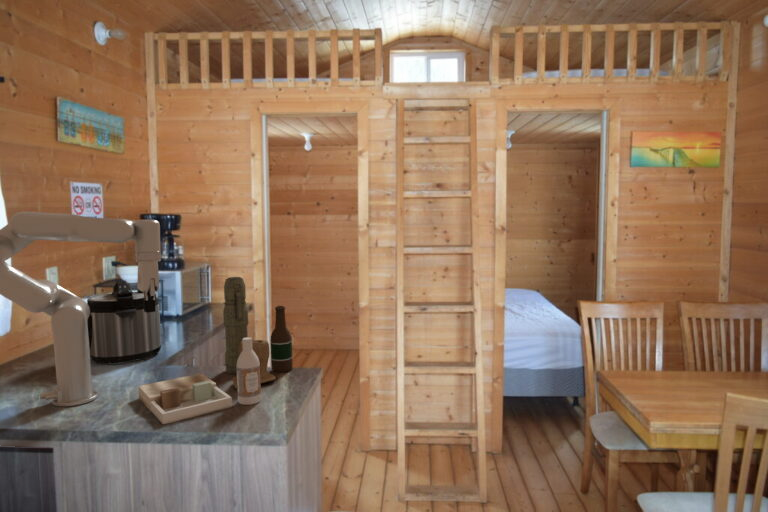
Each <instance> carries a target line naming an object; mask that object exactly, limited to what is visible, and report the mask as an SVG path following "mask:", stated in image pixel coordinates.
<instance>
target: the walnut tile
mask: <svg viewBox="0 0 768 512" xmlns="http://www.w3.org/2000/svg"><path fill="white" fill-rule="evenodd" d="M160 395H161V408H162V409H163V410H165V409H169V408H173V407H177V406H181V399H180V389H179V388H173V389H169V390H164V391H160Z"/></svg>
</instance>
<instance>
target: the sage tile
mask: <svg viewBox="0 0 768 512" xmlns="http://www.w3.org/2000/svg"><path fill="white" fill-rule="evenodd" d="M192 392H193V400H194V401H195V402H197V401H201V400H205V399H210V398H211V382H209V381H204V382H199V383H195V384H192Z"/></svg>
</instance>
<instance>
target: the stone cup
mask: <svg viewBox="0 0 768 512" xmlns="http://www.w3.org/2000/svg"><path fill="white" fill-rule="evenodd" d="M252 350H253V351H254V352H255V354H256V355H257V357H258V359H259V363H260V385H261V384H265V383H268V382H272V381H274V380H276V378H277V377H276V376H275V375H274V374H273V373H271V372H269V371H268V368H267V367H268V363H269V360H270V359H269V358H270V355H271V351H270V344H269V342H268V340H265V339H254V340H253V339H252ZM242 351H243V345H242V342H240V345H239V356H240V354H241V352H242ZM232 383H233V387H234V389H237V375H236V376H234V377H232Z"/></svg>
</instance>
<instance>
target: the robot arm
mask: <svg viewBox="0 0 768 512" xmlns="http://www.w3.org/2000/svg"><path fill="white" fill-rule="evenodd" d="M34 241H58V242H74V243H76V242H77V243H79V242H88V243H89V242H92V243H93V242H94V243H109V244H110V243H113V244H115V243H116V244H122V243H123V244H124V243H127V242H129V241H134V243H135V262H136V263H137V291H138V290H140V291H142V292H143V293H144V312H146V313H148V312H155V294H156V292H158V291H159V289H160V279H159V278H160V275H159V274H160V273H159V263H158V262H161V259H162V255H161V225H160V221H158V220H156V219H138V220H134V219H133V220H132V219H128V218H127V219H125V218H109V217H107V218H106V217H93V216H92V217H91V216H85V215H84V216H83V215H79V214H75V213H73V214H72V213H59V212H58V213H55V212H41V211H40V212H39V211H26V210H24V211H19V212H16V213H14V214H13V215H12V216H11V217H10V219H9V221H8V224H6V225H4V227H2V228H0V295H1V296H2V297H4V298H5V299H7V300H9V301H11V302H12V303H14V304H16V305H18V306H19V307H21V308H22V309H24V310H26V311H28V312H31V313H42V312H43V314H46V315H48V316H50V317H51V318H50V326H51V333H52V334H51V335H52V340H53V350H54V353H53V354H54V362H55V377H56V379H55V380H56V386H55V387H54V389H51V391H48V392H41V393H39V400H40V401H41V400H45V401H47V400H51V399H52V400H51V404H52V405H53V406H55V407H73V406H79V405H83V404H87V403H89V402H92V401H93V400H96V399H97V398H98V397H99V392H98V391H97V390H94V389H93V381H92V365H91V357H90V348H89V336H88V325H87V320H88V318H89V315H90V308H89V306H88V304H87V301H85V300H84V299H83V298H81V297H79V296H78V295H76V294H74V293H73V292H71V291H69V290H68V289H66V288H64V287H62V286H60V285H59V284H58V283H56V282H54V281H51V280H48V279H42V278H41V279H35V278H33V277H31V276H30V275H28V274H26V273H25V272H23V271H21V270H20V269H18V268H16V267H14V266H11V265H10V264H8V263H7V262H6V261H8V260H9V259H11V258H12V257H14V256H15V255H16V254H18V253H19V252H21V251H22V250H24V249H25V248H26V247H27V246H29V245H31V244H32V243H34Z"/></svg>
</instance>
